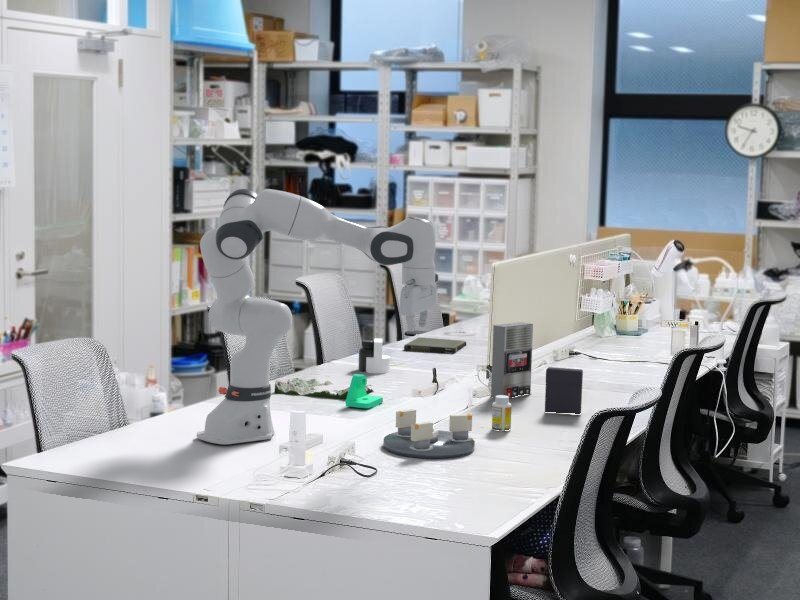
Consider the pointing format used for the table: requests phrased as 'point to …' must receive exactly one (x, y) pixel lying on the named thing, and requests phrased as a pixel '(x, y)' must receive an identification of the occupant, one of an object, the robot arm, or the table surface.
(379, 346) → the white cylinder
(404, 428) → the cream block orange corner
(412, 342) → the network switch
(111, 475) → the table surface
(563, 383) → the calculator
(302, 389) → the topographic map model
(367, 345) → the supplement bottle
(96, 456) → the table surface
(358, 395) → the camera mount
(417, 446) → the knob left
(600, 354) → the table surface
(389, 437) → the tribrach disc
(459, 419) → the knob right
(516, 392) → the cassette tape recorder
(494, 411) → the supplement bottle
